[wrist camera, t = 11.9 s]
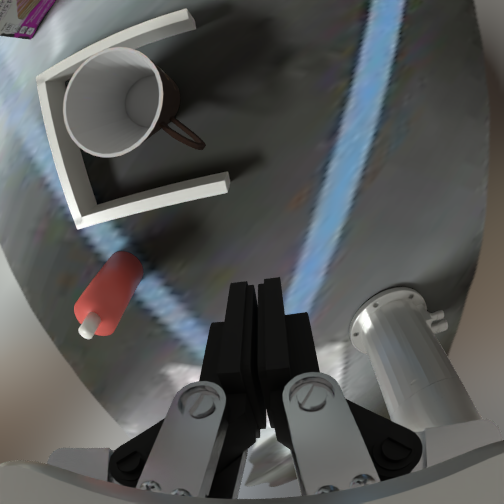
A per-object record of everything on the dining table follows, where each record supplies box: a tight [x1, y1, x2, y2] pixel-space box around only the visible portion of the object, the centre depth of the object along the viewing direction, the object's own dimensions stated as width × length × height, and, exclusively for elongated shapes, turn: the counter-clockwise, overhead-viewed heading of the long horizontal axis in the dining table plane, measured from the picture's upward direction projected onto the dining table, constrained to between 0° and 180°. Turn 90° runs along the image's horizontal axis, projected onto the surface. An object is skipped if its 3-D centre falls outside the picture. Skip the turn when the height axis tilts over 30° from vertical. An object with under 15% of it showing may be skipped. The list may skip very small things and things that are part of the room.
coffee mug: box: [63, 47, 206, 157], centre depth 22 cm, size 12×9×10 cm
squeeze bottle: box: [74, 251, 143, 339], centre depth 30 cm, size 5×5×12 cm
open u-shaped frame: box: [36, 8, 230, 229], centre depth 25 cm, size 17×18×4 cm
